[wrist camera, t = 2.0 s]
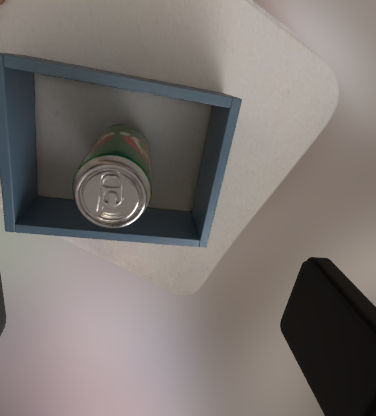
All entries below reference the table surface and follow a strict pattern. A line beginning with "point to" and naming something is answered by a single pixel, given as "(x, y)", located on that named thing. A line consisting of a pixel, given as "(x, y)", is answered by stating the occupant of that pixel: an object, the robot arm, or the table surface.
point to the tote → (67, 209)
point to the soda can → (114, 178)
